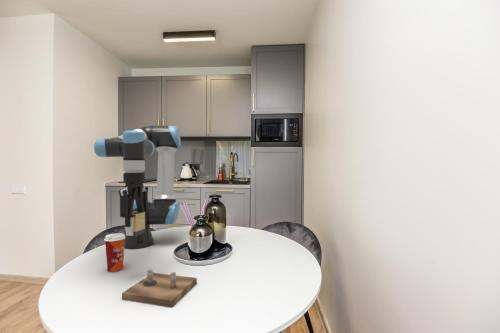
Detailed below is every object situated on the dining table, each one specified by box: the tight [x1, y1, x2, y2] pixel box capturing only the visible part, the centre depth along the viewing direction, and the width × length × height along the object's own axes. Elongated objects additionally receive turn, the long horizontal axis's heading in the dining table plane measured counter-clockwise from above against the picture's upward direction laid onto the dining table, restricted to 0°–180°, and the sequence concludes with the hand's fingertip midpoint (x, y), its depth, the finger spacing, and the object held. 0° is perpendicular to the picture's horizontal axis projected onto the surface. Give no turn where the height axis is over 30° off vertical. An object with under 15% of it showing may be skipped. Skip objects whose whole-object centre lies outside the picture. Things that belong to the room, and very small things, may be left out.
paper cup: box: [103, 232, 125, 273], centre depth 107 cm, size 8×8×14 cm
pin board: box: [121, 268, 198, 308], centre depth 88 cm, size 16×18×7 cm
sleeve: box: [124, 211, 145, 236], centre depth 99 cm, size 5×5×8 cm
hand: (135, 233), depth 99 cm, fingers closed on sleeve, 5 cm apart
